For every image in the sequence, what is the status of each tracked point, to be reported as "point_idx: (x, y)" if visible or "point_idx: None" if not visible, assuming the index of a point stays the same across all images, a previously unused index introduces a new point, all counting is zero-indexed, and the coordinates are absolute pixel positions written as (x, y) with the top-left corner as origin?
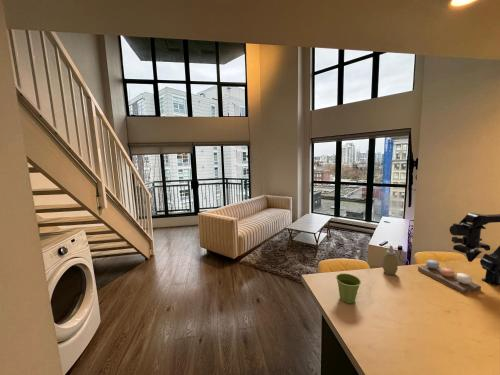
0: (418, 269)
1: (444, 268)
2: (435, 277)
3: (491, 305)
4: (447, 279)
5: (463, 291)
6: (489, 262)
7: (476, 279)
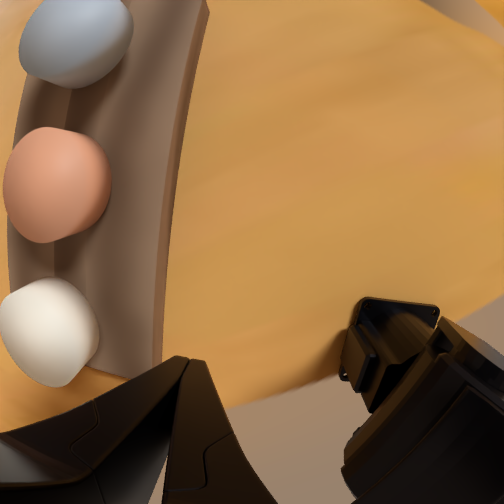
0: None
1: (46, 149)
2: None
3: None
4: None
5: None
6: (371, 495)
7: (336, 276)
